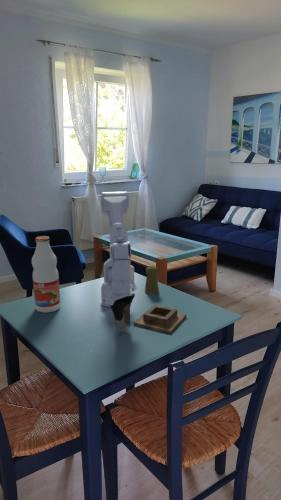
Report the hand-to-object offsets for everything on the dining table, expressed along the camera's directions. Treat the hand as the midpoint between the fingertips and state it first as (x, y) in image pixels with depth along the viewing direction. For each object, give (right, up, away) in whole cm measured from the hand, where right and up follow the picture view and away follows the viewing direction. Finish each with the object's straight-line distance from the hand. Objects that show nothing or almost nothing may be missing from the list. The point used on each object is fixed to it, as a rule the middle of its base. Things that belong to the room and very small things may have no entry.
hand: (121, 316), depth 126 cm
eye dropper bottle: (+1, +7, +45) cm, 45 cm away
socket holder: (+13, -3, +9) cm, 16 cm away
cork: (+11, +4, +35) cm, 37 cm away
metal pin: (0, -3, +1) cm, 3 cm away
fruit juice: (-29, 0, +20) cm, 36 cm away
